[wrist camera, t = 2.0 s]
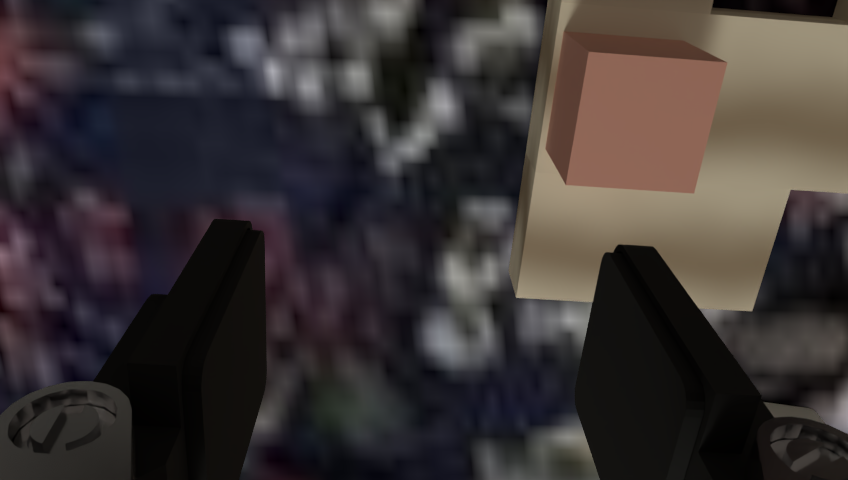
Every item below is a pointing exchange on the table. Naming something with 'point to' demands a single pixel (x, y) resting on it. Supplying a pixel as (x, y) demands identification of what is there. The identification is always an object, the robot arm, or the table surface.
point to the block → (632, 112)
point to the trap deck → (722, 163)
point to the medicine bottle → (792, 411)
